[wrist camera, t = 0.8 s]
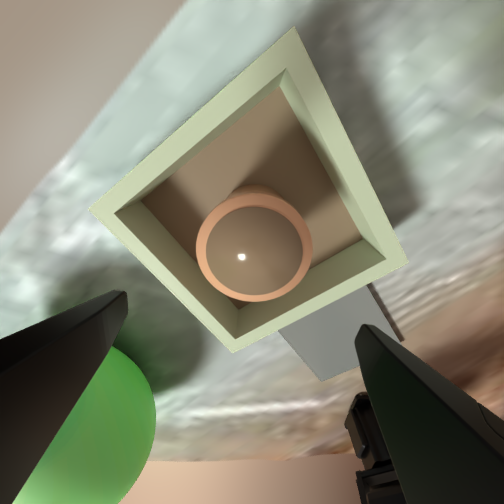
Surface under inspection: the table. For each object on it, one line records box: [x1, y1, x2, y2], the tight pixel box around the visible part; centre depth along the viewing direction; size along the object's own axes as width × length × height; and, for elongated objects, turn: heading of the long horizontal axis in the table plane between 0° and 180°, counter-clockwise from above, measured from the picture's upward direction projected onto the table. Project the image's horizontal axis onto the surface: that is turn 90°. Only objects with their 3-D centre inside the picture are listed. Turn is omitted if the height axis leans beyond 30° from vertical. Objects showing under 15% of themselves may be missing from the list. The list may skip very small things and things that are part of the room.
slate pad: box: [278, 285, 402, 382], centre depth 25 cm, size 10×10×1 cm
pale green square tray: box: [88, 26, 409, 353], centre depth 18 cm, size 16×16×4 cm
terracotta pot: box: [196, 184, 313, 302], centre depth 17 cm, size 7×7×7 cm
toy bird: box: [12, 346, 156, 504], centre depth 22 cm, size 18×17×15 cm
